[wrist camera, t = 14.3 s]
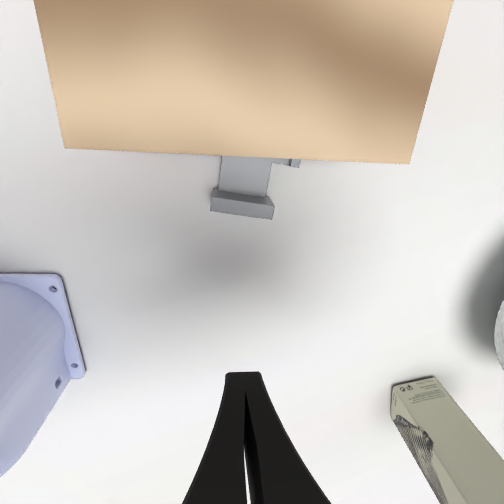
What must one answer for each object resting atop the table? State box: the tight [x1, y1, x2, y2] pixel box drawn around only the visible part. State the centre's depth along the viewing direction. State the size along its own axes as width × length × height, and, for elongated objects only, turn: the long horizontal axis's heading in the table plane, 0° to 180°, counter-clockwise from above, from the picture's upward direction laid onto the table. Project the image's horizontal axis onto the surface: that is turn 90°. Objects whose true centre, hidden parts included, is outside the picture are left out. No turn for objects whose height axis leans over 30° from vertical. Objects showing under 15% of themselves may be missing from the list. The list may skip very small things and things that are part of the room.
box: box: [391, 377, 504, 504], centre depth 22 cm, size 5×4×13 cm
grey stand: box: [210, 156, 301, 220], centre depth 14 cm, size 10×6×5 cm, turn 170°
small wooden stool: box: [34, 0, 454, 164], centre depth 12 cm, size 8×13×7 cm, turn 87°
